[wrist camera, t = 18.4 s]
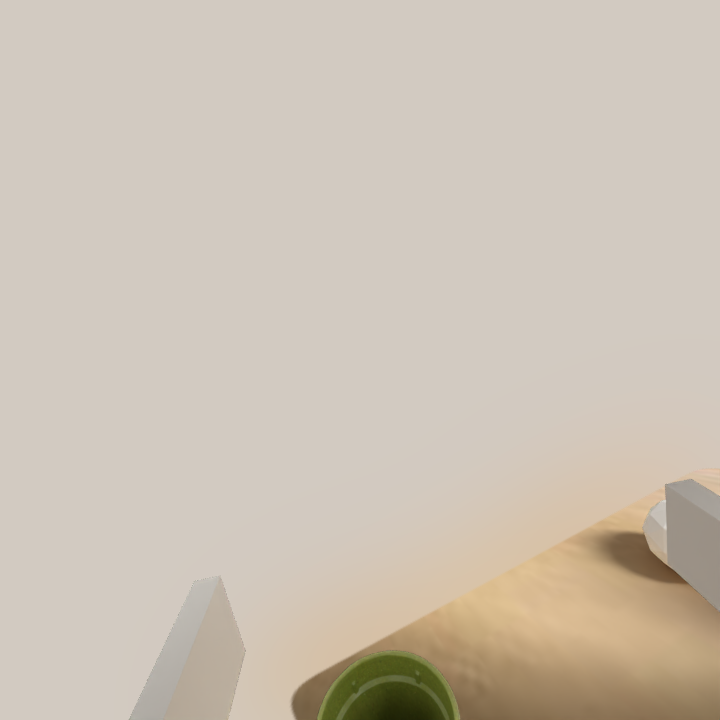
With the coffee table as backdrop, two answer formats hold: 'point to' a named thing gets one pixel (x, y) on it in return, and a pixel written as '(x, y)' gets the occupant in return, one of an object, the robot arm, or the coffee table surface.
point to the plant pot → (390, 690)
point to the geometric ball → (657, 531)
